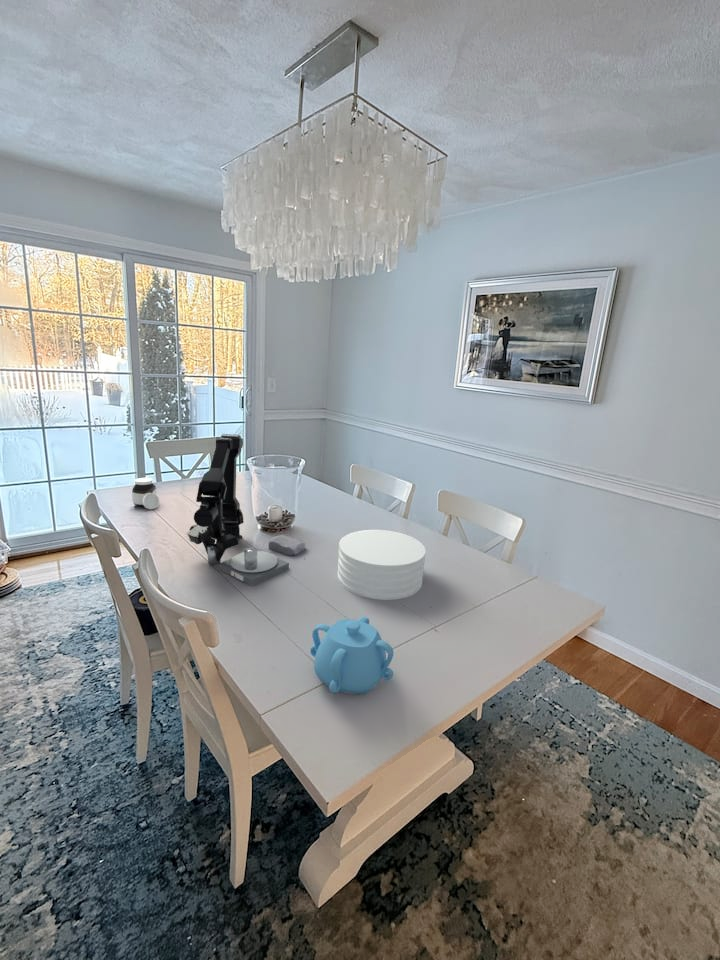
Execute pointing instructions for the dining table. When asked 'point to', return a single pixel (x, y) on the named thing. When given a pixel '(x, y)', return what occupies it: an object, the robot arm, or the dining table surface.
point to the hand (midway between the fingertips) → (214, 559)
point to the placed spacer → (250, 558)
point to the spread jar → (145, 493)
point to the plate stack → (381, 564)
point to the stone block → (286, 545)
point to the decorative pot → (351, 656)
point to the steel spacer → (212, 556)
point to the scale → (265, 569)
